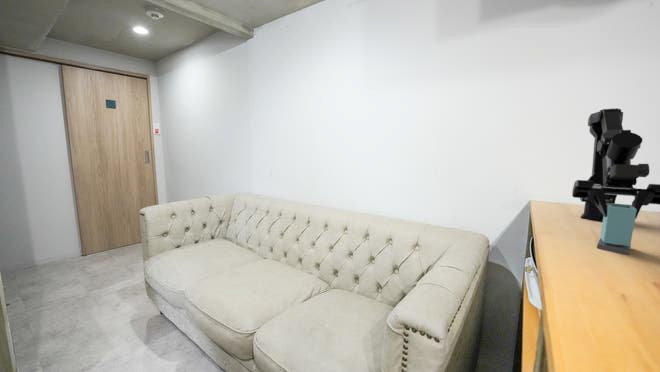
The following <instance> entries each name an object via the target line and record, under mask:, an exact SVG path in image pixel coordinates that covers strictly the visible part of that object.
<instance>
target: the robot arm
mask: <svg viewBox="0 0 660 372" xmlns="http://www.w3.org/2000/svg"><path fill="white" fill-rule="evenodd" d="M623 117H624V112H623V111H622V109H621V108H618V107H617V108H604V109H600V110H599V111H597V112H594V113H590V115H589V117H588V121H587V127H589V133H590V134H591V135H592V137H593V138H594V144H593V155H592V169H591V175H590V177H589V178H588V179H587V180H586V179H577V180H576V181H574V184H573V187H572V193H571V194H572V195H571V196H572V197H573V198H576V199H577V198H578V199H579V200H580V201H581V202H583V203H584V208H583V209H584V210H583V213H582V214H581V216H580V218H581V219H586V220H592V221H600V222H603V216H604V217H607V206H606V203H614V204H616V199H617V197H618V196H628V197H634V199H633V201H632V203H631V205H632V206H633V207H635V208H636V209H637V211H636V217H635V220H636V219H637V218H638V215H639V213H640V211H641V209H642V207H643V206H648V205H660V183H649V184H648V186H647V187H646V188H637V187H634V186H636V185H637V182H638V181H637V179H638V178H646V177H648V176H649V175H650V165H649V163H638V164H632V163H631V161H632V160H633V159H634V158H636V155H637V153H638V151H639V149H641V145H642V143H643V137H642V136H640V135H639V134H638V133H634V132H632V130H631V129H624V128H623V127H624V126H623V120H624V118H623Z"/></svg>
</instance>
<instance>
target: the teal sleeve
mask: <svg viewBox="0 0 660 372" xmlns="http://www.w3.org/2000/svg"><path fill="white" fill-rule="evenodd" d="M606 206H607V217H604V216H603V221H601V222H602V223H601V229H600V236H599V238H601V239H602V241H603V242H604V243H611V244H617V245H624V246H630V244H631V245H632V239H633V232H634V228H635V221H636V219H635V217H636V211H637V209H636V208H635V207H633V206H632V204H625V203H615V204H614V203H606ZM630 247H631V246H630Z"/></svg>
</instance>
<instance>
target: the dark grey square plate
mask: <svg viewBox="0 0 660 372" xmlns="http://www.w3.org/2000/svg"><path fill="white" fill-rule="evenodd" d="M631 245H632V243H631V244H630V246H624V245H617V244H611V243H604V242H603V241H602V239H601V237H599V240H598V242H597V245H596V248H597V249H601V250H604V251H609V252H610V251H611V252H615V253H618V254H619V253H620V254H623V255H624V254H625V255H628V256H629V255H630V250H631V247H632V246H631Z"/></svg>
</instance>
